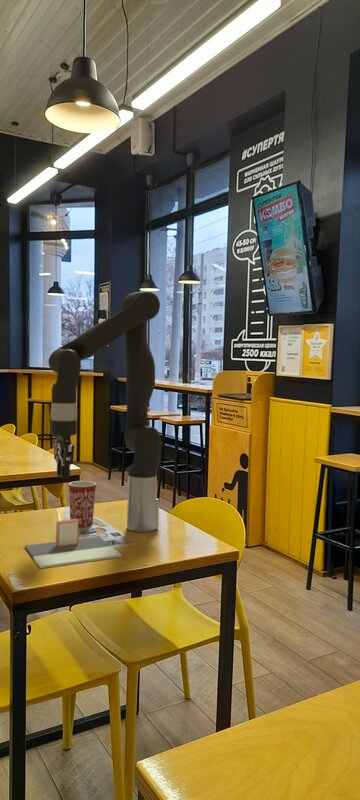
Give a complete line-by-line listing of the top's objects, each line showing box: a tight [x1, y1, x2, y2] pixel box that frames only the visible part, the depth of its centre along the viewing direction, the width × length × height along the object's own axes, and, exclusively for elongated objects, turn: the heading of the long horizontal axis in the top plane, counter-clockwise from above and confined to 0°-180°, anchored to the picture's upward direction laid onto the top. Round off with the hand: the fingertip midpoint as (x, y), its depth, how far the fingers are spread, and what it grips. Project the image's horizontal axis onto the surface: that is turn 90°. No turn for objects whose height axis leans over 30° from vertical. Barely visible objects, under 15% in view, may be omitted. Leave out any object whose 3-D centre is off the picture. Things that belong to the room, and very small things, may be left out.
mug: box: [68, 480, 97, 528], centre depth 185 cm, size 13×9×14 cm
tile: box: [55, 518, 80, 547], centre depth 159 cm, size 6×2×7 cm, turn 117°
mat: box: [24, 536, 122, 569], centre depth 155 cm, size 22×18×1 cm
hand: (63, 476), depth 163 cm, fingers open, 4 cm apart
